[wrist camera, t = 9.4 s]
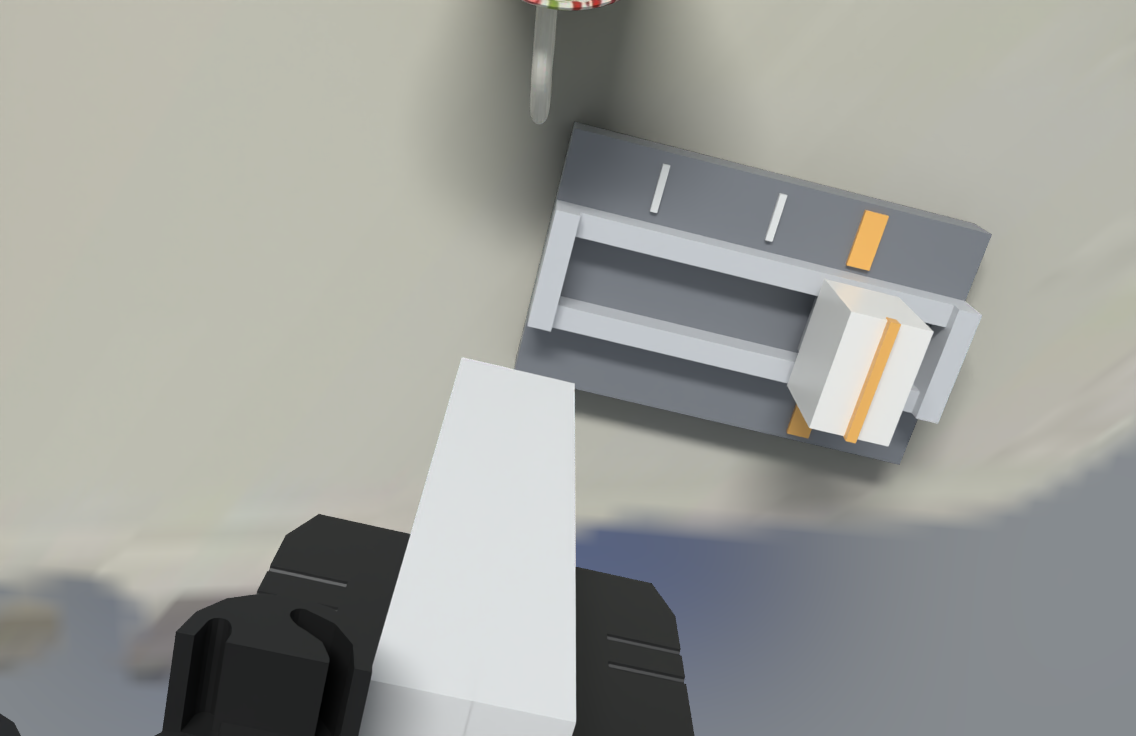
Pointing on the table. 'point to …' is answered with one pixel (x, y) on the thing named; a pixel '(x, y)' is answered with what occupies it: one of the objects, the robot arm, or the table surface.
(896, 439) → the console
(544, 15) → the mug
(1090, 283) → the table surface
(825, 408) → the fader tab
